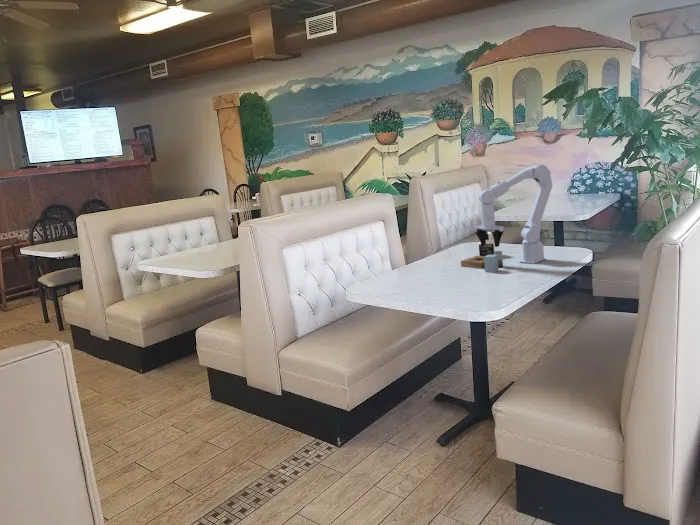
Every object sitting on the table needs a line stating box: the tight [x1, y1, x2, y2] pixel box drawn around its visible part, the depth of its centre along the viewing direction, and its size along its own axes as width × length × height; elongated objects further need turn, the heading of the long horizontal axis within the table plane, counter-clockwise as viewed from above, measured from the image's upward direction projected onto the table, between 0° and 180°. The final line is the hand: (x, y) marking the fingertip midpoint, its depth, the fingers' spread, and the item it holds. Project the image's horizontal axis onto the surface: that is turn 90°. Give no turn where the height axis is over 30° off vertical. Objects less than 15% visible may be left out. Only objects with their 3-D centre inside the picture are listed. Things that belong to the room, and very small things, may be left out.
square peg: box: [484, 255, 499, 273], centre depth 249 cm, size 4×4×7 cm
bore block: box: [460, 255, 485, 269], centre depth 264 cm, size 12×12×3 cm
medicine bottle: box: [478, 231, 496, 256], centre depth 280 cm, size 7×7×12 cm
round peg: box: [494, 250, 504, 269], centre depth 255 cm, size 4×4×7 cm
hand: (490, 246), depth 257 cm, fingers open, 7 cm apart
